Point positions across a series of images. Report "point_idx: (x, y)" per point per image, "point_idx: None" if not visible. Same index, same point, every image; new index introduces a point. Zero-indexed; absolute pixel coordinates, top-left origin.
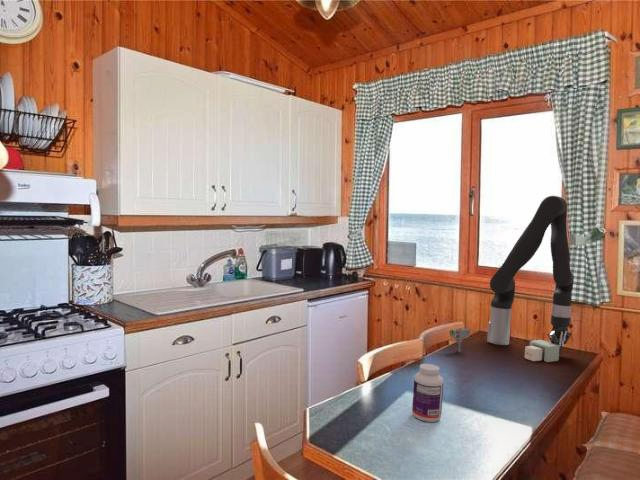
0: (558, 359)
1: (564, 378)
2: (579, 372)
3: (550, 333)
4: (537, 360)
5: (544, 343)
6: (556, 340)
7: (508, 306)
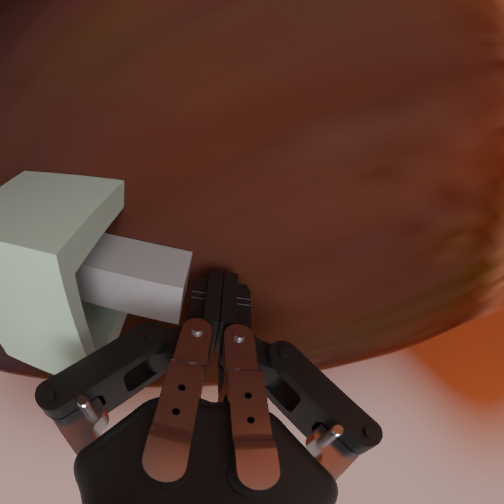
0: (126, 313)
1: (14, 360)
2: None
3: (53, 420)
4: None
5: (15, 323)
6: (126, 392)
7: None
